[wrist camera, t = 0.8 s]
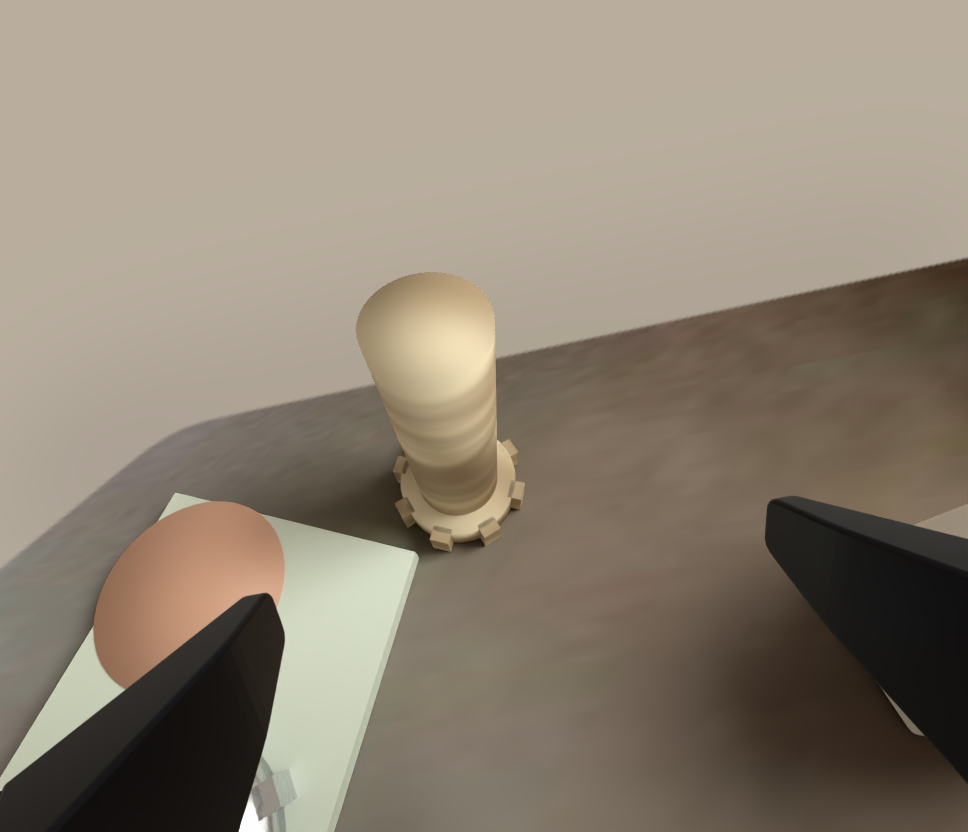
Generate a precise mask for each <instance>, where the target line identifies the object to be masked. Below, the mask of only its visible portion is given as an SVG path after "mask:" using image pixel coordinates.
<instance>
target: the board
mask: <svg viewBox="0 0 968 832" xmlns="http://www.w3.org/2000/svg"><path fill="white" fill-rule="evenodd" d="M418 560H419V557H418V555H417V554H416V552H413V551H409V550H405V549H401V548H397V547H393V546H389V545H385V544H381V543H377V542H373V541H369V540H365V539H361V538H357V537H353V536H349V535H345V534H341V533H337V532H333V531H328V530H324V529H320V528H316V527H312V526H308V525H304V524H300V523H296V522H292V521H288V520H284V519H280V518H276V517H272V516H268V515H264V514H260V513H257V512H256V511H255V510H253V509H251V508H249V507H247V506H244V505H241V504H238V503H232V502H223V501H214V502H211V501H207V500H203V499H199V498H195V497H191V496H187V495H183V494H179V493H175V494H174V496H173V497H172V499H171V500H170V502H169V504H168V505H167V507H166V509H165V510H164V512H163V513H162V515H161V517H160V518H159V520H158V522H157V523H155V524H154V525H152V526H151V527H149V528H148V529H147V530H146V531H145V532H143V533H142V534H141V535H140V536H139V537H138V538H137V539H136V540H135V541H134V542H133V543H132V544H131V545H130V546H129V547H128V548H127V549H126V551H125V552H124V553H123V554H122V555H121V557H120V558H119V560H118V561H117V562H116V564H115V565H114V567H113V568H112V570H111V572H110V574H109V576H108V577H107V579H106V581H105V584H104V586H103V588H102V590H101V593H100V596H99V599H98V602H97V606H96V611H95V616H94V626H93V627H92V629H91V631H90V632H89V634H88V636H87V637H86V639H85V640H84V642H83V644H82V645H81V647H80V649H79V650H78V652H77V654H76V655H75V657H74V658H73V660H72V662H71V663H70V665H69V667H68V668H67V670H66V671H65V673H64V675H63V676H62V678H61V680H60V681H59V683H58V684H57V686H56V688H55V689H54V691H53V693H52V694H51V696H50V697H49V699H48V701H47V702H46V704H45V706H44V707H43V709H42V711H41V712H40V714H39V715H38V717H37V719H36V720H35V722H34V724H33V725H32V727H31V728H30V730H29V732H28V733H27V735H26V737H25V738H24V740H23V741H22V743H21V745H20V746H19V748H18V750H17V751H16V753H15V754H14V756H13V758H12V759H11V761H10V763H9V764H8V766H7V768H6V769H5V771H4V772H3V774H2V776H1V777H0V791H2V789H3V787H4V785H5V784H6V783H7V782H9V781H10V780H11V779H12V778H14V777H15V776H16V775H17V774H19V773H20V772H21V771H23V770H24V769H25V768H26V767H28V766H29V765H30V764H31V763H33V762H34V761H35V760H37V759H38V758H39V757H40V756H42V755H43V754H44V753H45V752H47V751H48V750H49V749H50V748H52V747H53V746H54V745H56V744H57V743H58V742H59V741H61V740H62V739H63V738H64V737H66V736H67V735H68V734H70V733H71V732H72V731H73V730H75V729H76V728H77V727H78V726H80V725H81V724H82V723H84V722H85V721H86V720H87V719H89V718H90V717H91V716H92V715H94V714H95V713H96V712H97V711H99V710H100V709H101V708H103V707H104V706H105V705H106V704H108V703H109V702H110V701H111V700H113V699H114V698H115V697H117V696H118V695H119V694H120V693H122V692H123V691H124V690H125V689H127V688H128V687H129V686H130V685H132V684H133V683H134V682H136V681H137V680H138V679H139V678H141V677H142V676H143V675H144V674H146V673H147V672H148V671H150V670H151V669H152V668H153V667H155V666H156V665H157V664H158V663H160V662H161V661H162V660H163V659H165V658H166V657H167V656H169V655H170V654H171V653H172V652H174V651H175V650H176V649H177V648H179V647H180V646H181V645H183V644H184V643H185V642H186V641H188V640H189V639H190V638H191V637H193V636H194V635H195V634H197V633H198V632H199V631H200V630H202V629H203V628H204V627H205V626H207V625H208V624H209V623H210V622H212V621H213V620H214V619H216V618H217V617H218V616H219V615H221V614H222V613H223V612H224V611H226V610H227V609H228V608H230V607H231V606H232V605H233V604H235V603H236V602H237V601H238V600H240V599H241V598H242V597H245V596H249V595H254V594H260V593H268V594H270V595H271V596H272V598H273V600H274V602H275V605H276V608H277V611H278V614H279V616H280V619H281V622H282V625H283V628H284V632H285V645H284V651H283V656H282V661H281V666H280V672H279V677H278V682H277V687H276V693H275V698H274V703H273V708H272V714H271V719H270V724H269V728H268V733H267V737H266V741H265V745H264V748H263V752H262V757H263V758H264V759H265V761H266V762H267V763H268V765H269V767H270V769H271V770H272V772H273V774H277V773H279V772H282V771H285V770H287V769H289V771H290V775H291V778H292V781H293V784H294V788H295V791H296V794H297V798H296V799H295V800H293V801H292V802H290V803H289V804H287V805H286V806H285V807H284V813H285V823H286V832H334V831H335V828H336V825H337V821H338V818H339V815H340V812H341V808H342V805H343V802H344V799H345V796H346V792H347V789H348V786H349V783H350V779H351V776H352V773H353V770H354V767H355V763H356V760H357V757H358V754H359V751H360V747H361V744H362V741H363V738H364V734H365V731H366V728H367V725H368V722H369V718H370V715H371V712H372V709H373V705H374V702H375V699H376V696H377V693H378V689H379V686H380V683H381V680H382V676H383V673H384V670H385V667H386V664H387V660H388V657H389V654H390V651H391V647H392V644H393V641H394V638H395V635H396V631H397V628H398V625H399V622H400V618H401V615H402V612H403V609H404V606H405V602H406V599H407V596H408V593H409V589H410V586H411V583H412V580H413V577H414V573H415V570H416V567H417V564H418Z"/></svg>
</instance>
